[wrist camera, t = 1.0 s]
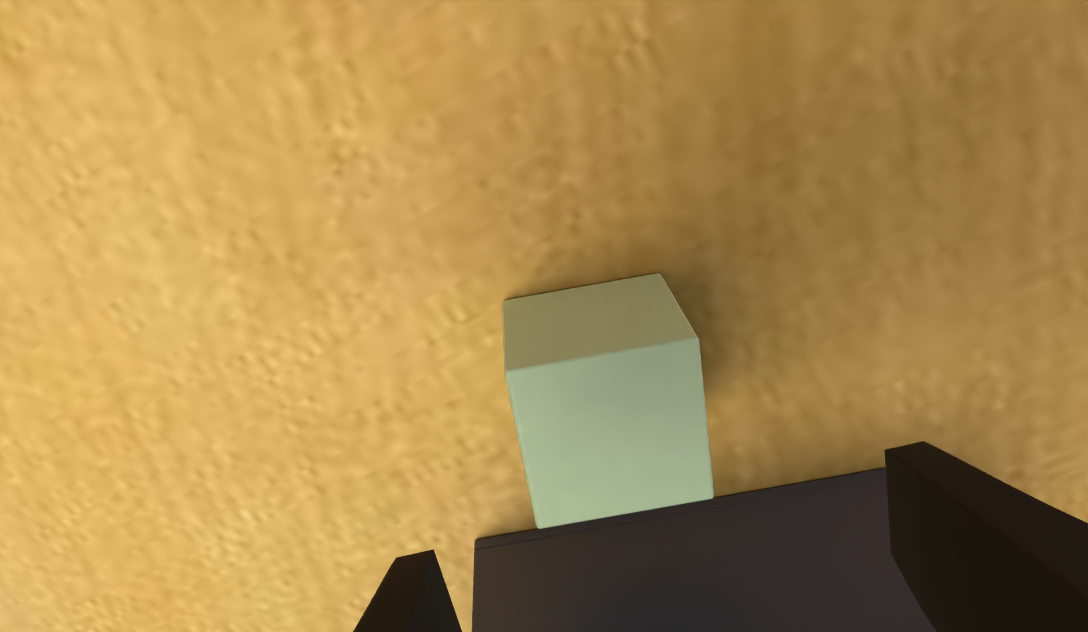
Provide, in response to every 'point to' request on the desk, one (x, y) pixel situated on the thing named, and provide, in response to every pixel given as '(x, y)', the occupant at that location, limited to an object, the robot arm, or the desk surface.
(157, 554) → the desk surface
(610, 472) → the block
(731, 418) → the desk surface
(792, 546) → the carton
